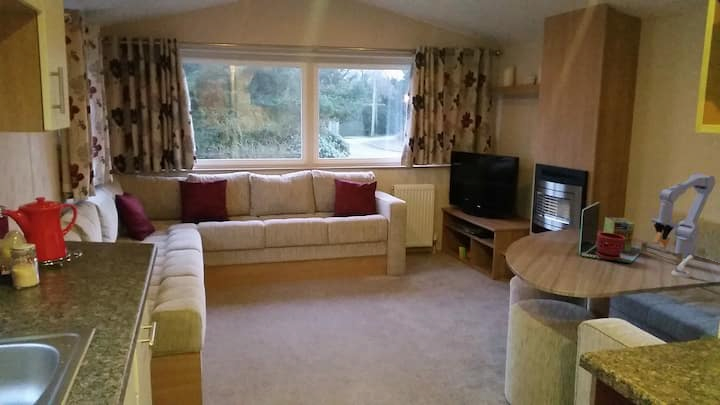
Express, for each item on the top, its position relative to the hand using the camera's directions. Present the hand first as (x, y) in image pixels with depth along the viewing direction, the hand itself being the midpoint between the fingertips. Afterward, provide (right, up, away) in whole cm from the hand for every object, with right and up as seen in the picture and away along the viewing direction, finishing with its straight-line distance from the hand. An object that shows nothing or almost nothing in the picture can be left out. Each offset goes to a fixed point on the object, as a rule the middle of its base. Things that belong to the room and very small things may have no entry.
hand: (661, 238), depth 274 cm
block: (-2, -4, 0) cm, 4 cm away
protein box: (-14, -6, +20) cm, 25 cm away
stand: (+1, -10, +3) cm, 11 cm away
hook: (-5, -16, -24) cm, 29 cm away
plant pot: (-28, -10, -1) cm, 30 cm away
